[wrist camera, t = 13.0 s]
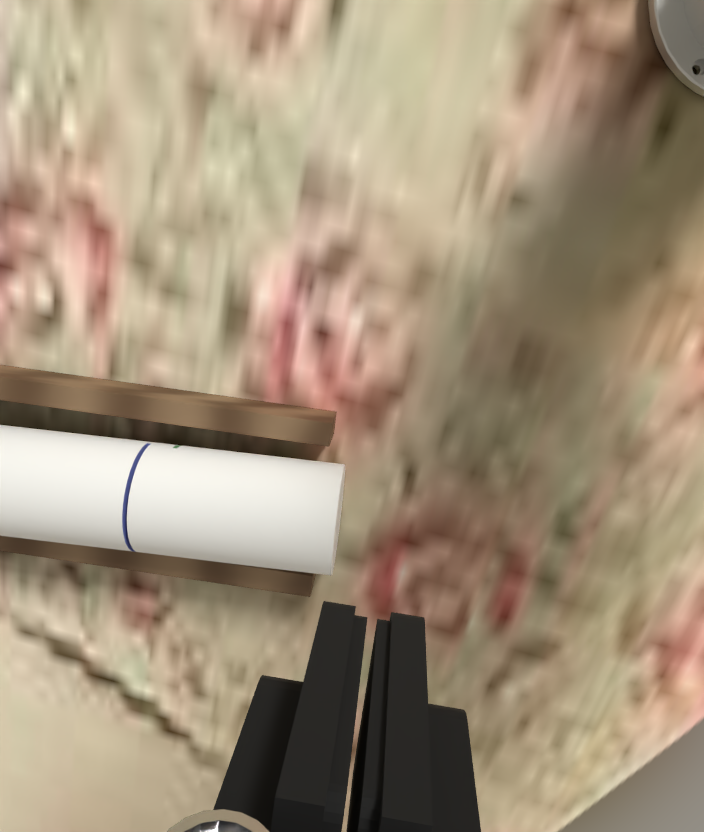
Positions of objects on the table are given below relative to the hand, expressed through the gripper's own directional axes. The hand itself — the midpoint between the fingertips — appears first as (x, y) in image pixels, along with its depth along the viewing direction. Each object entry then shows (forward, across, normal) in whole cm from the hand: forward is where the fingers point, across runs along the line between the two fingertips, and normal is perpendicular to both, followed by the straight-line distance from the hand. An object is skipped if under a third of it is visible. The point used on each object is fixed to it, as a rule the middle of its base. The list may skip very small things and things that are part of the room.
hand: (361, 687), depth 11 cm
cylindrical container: (+30, +2, +10) cm, 31 cm away
